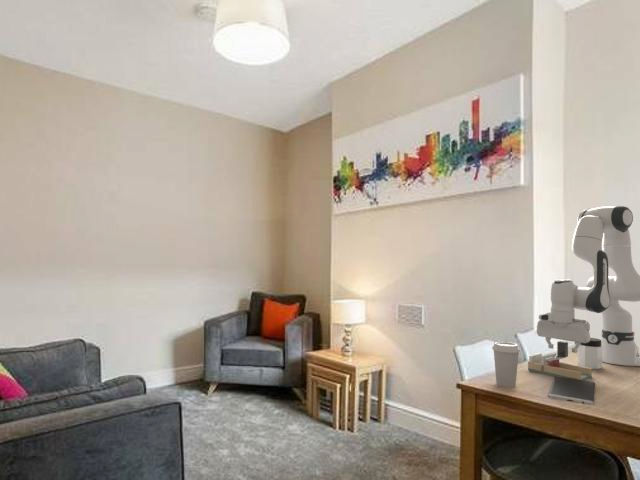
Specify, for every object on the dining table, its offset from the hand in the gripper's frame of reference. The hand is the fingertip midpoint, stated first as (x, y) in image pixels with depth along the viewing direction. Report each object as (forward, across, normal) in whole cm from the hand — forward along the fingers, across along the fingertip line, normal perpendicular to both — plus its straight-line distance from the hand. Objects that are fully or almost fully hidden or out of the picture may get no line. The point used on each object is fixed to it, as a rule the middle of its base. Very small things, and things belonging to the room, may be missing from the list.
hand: (562, 350), depth 184 cm
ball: (+5, +3, +8) cm, 10 cm away
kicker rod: (+7, 0, +6) cm, 9 cm away
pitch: (+8, -2, +8) cm, 12 cm away
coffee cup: (+8, +3, +40) cm, 41 cm away
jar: (+8, -5, -16) cm, 18 cm away
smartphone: (+9, -15, +27) cm, 32 cm away
